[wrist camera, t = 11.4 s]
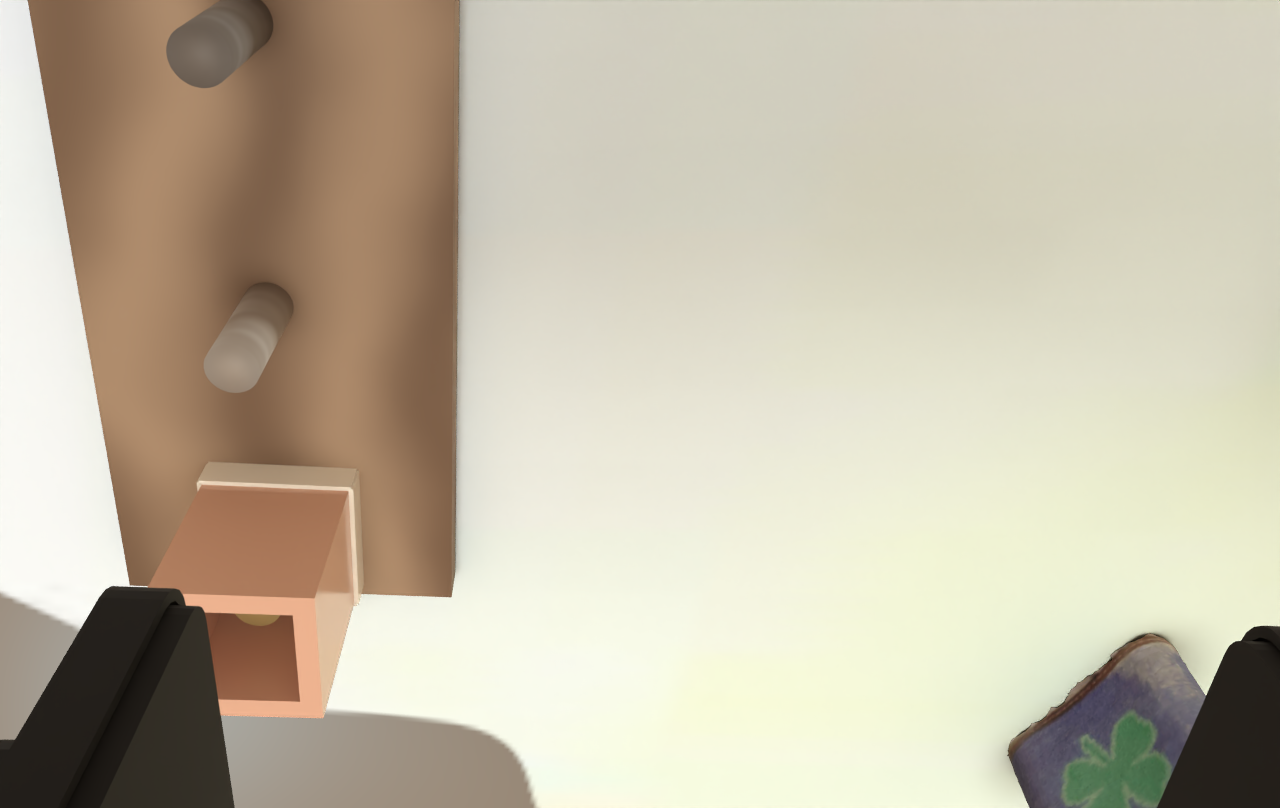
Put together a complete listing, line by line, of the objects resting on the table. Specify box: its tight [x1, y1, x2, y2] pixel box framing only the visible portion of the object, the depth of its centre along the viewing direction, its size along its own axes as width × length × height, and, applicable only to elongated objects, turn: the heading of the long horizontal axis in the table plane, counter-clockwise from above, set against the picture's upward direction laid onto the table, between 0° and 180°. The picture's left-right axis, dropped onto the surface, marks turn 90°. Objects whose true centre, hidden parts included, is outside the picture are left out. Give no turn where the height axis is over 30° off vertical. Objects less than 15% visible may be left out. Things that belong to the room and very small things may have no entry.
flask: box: [1007, 633, 1206, 808], centre depth 45 cm, size 9×3×11 cm, turn 144°
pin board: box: [28, 0, 459, 626], centre depth 35 cm, size 12×24×6 cm, turn 175°
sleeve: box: [148, 462, 364, 718], centre depth 38 cm, size 5×5×7 cm
